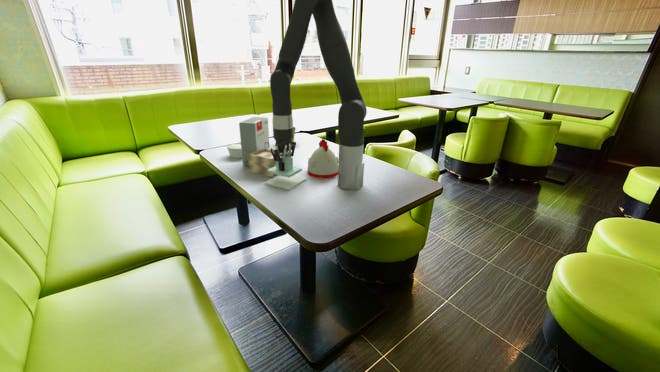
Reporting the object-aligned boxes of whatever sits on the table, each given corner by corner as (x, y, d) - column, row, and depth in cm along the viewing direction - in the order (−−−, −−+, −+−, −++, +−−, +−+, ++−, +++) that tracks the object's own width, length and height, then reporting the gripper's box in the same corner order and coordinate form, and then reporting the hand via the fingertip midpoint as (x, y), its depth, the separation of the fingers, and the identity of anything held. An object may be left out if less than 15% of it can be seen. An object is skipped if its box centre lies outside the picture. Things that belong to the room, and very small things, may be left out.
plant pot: (295, 145, 170) (295, 130, 166) (279, 145, 170) (278, 129, 166) (297, 140, 178) (296, 126, 175) (281, 140, 179) (280, 126, 175)
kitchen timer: (314, 180, 123) (314, 145, 117) (303, 169, 135) (302, 137, 129) (344, 175, 129) (345, 141, 123) (330, 165, 140) (331, 134, 134)
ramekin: (254, 153, 156) (253, 143, 154) (246, 159, 146) (245, 149, 144) (233, 152, 157) (232, 142, 155) (224, 158, 147) (223, 148, 145)
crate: (288, 169, 135) (287, 152, 131) (273, 177, 126) (272, 159, 123) (265, 164, 140) (264, 147, 137) (249, 171, 131) (248, 154, 128)
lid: (301, 170, 121) (301, 156, 118) (289, 177, 114) (288, 162, 112) (280, 165, 125) (279, 152, 123) (267, 172, 118) (266, 158, 116)
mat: (306, 179, 124) (306, 178, 123) (289, 190, 114) (289, 188, 114) (282, 174, 129) (282, 173, 128) (264, 184, 119) (264, 182, 119)
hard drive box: (258, 167, 137) (254, 123, 128) (242, 165, 138) (237, 122, 130) (270, 156, 151) (268, 117, 142) (256, 155, 152) (253, 116, 144)
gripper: (279, 131, 105) (281, 176, 112) (301, 124, 116) (302, 165, 123) (262, 128, 108) (265, 172, 115) (286, 121, 119) (287, 162, 127)
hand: (284, 168), depth 119 cm, fingers closed on lid, 3 cm apart
